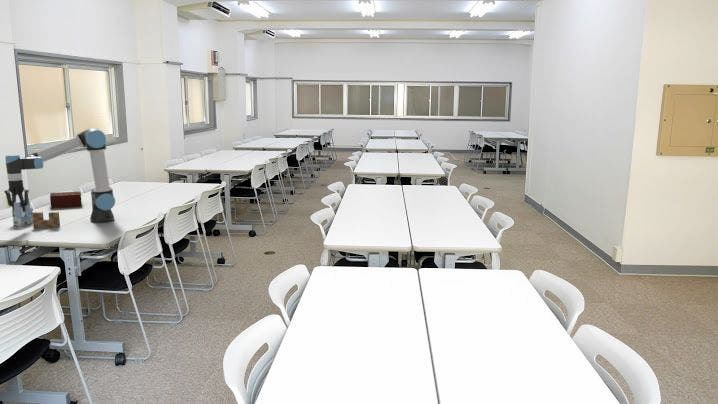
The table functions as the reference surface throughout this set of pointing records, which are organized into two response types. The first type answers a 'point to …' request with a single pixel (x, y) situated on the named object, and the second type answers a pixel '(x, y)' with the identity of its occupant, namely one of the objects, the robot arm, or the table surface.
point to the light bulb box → (23, 219)
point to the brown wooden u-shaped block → (46, 220)
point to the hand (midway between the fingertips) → (20, 216)
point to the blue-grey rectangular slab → (18, 209)
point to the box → (65, 200)
